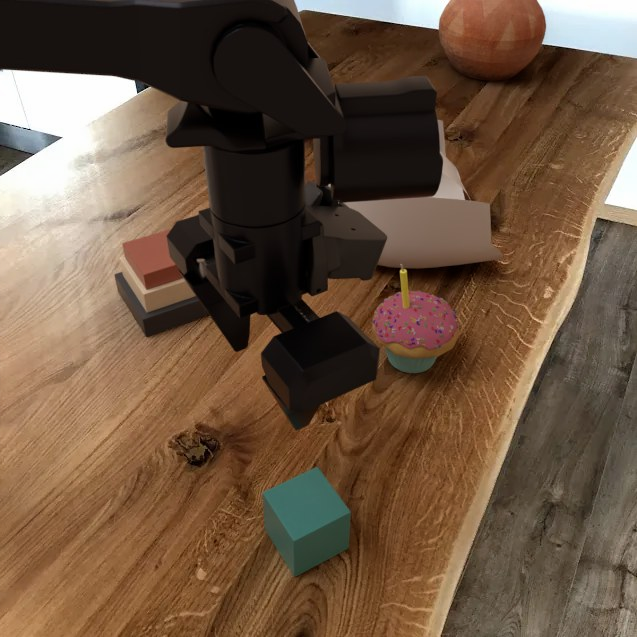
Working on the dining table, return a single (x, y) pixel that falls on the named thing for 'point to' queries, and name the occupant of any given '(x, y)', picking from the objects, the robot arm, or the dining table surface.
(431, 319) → the cupcake
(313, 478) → the toy cube
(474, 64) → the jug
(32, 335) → the dining table surface
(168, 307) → the stack
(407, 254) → the bowl
